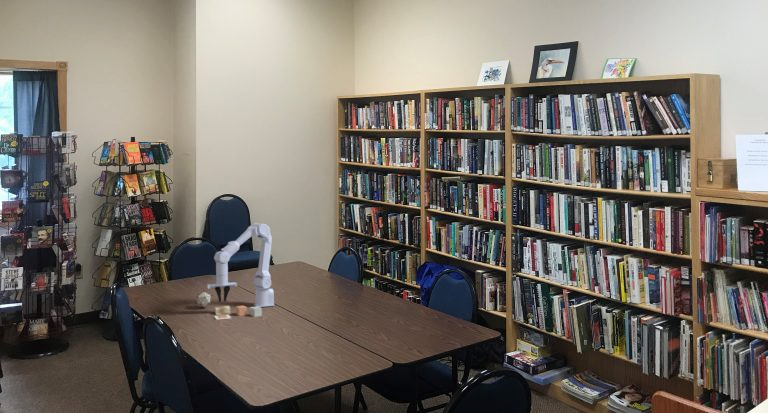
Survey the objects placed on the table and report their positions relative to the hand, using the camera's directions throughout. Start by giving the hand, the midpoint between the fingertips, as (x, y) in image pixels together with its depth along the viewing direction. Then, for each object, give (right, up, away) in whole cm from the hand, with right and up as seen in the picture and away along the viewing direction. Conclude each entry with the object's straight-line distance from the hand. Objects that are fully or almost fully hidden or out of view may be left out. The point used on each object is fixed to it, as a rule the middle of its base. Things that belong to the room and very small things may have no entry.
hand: (222, 301), depth 313 cm
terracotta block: (+11, -6, -4) cm, 13 cm away
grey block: (+18, -6, -6) cm, 20 cm away
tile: (+3, -6, -11) cm, 13 cm away
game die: (-12, -6, +10) cm, 17 cm away
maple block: (0, -6, 0) cm, 6 cm away
